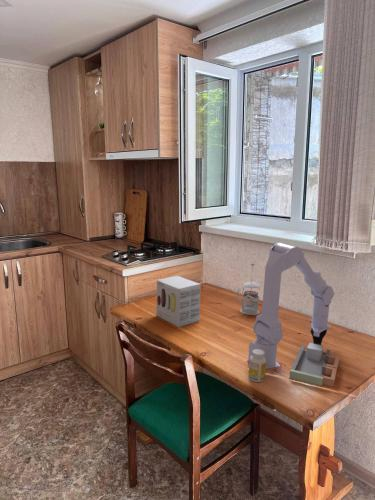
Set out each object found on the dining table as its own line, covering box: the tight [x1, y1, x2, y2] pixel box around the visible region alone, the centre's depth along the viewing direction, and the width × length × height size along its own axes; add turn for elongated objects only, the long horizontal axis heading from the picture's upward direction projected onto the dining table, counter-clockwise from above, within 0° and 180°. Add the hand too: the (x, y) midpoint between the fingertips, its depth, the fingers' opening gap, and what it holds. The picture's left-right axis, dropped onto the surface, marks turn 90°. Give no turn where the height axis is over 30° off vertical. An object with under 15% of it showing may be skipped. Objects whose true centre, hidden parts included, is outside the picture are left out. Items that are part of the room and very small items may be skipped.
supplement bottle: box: [248, 349, 267, 383], centre depth 125 cm, size 5×5×10 cm
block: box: [306, 342, 324, 361], centre depth 140 cm, size 5×5×4 cm
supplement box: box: [155, 275, 202, 328], centre depth 175 cm, size 17×13×18 cm
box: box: [289, 344, 340, 388], centre depth 133 cm, size 23×14×3 cm, turn 153°
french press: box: [236, 262, 261, 316], centre depth 186 cm, size 10×12×25 cm
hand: (317, 347), depth 147 cm, fingers closed
